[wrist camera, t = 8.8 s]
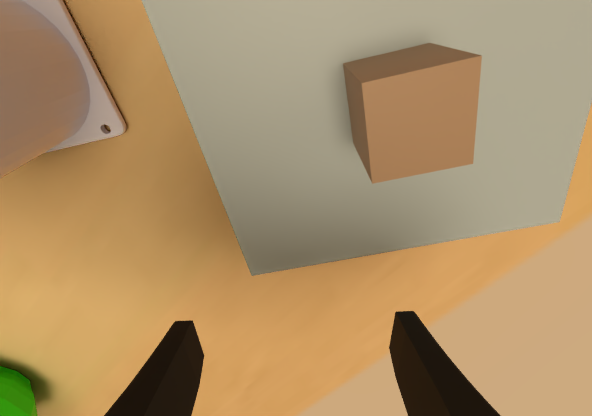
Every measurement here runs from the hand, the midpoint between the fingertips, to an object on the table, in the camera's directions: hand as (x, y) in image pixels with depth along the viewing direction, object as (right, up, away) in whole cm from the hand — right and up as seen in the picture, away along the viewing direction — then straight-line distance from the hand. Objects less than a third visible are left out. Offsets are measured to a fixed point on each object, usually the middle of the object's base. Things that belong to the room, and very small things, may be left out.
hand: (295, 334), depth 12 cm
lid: (+3, +9, +1) cm, 10 cm away
